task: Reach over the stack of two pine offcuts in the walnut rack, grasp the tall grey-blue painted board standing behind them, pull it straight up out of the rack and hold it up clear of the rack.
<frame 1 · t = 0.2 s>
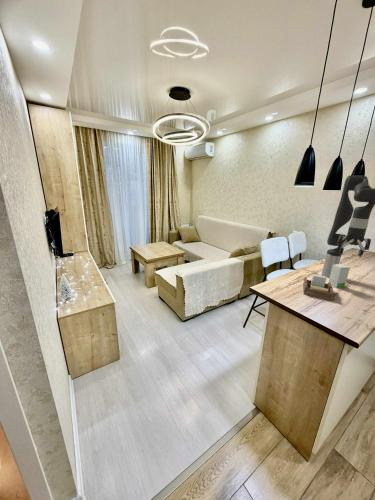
hand: (350, 255, 117), 29 cm above the table, fingers open, 8 cm apart
offcut upper: (318, 291, 129), point 3 cm above the table, touching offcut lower
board: (316, 290, 135), point 1 cm above the table, touching rack
skincare box: (335, 286, 144), on the table
rack: (316, 293, 133), on the table
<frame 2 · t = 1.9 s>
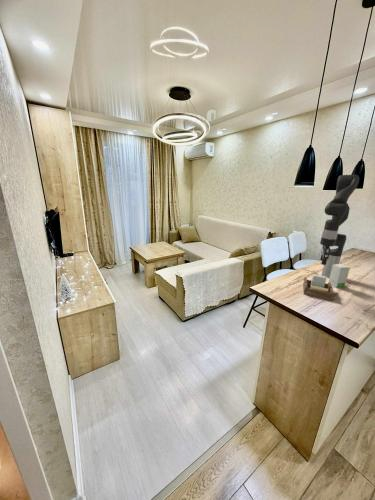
hand: (322, 262, 130), 20 cm above the table, fingers open, 8 cm apart
nothing on the table moved.
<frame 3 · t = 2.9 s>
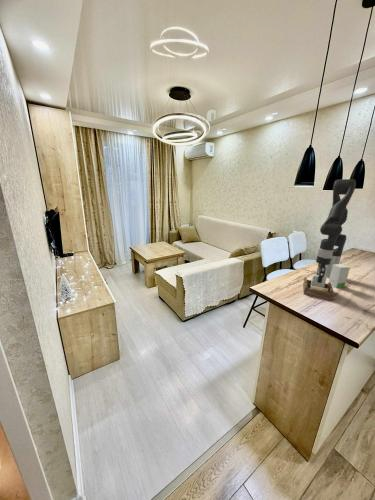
hand: (318, 280, 133), 8 cm above the table, fingers open, 8 cm apart
nothing on the table moved.
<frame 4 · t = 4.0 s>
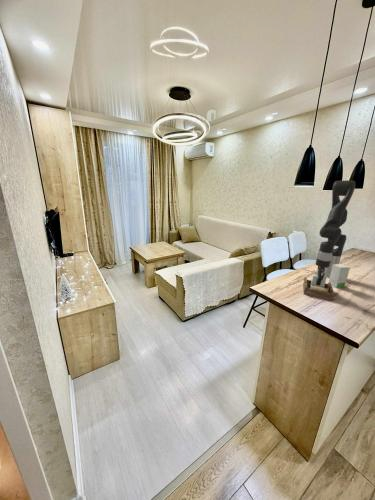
hand: (317, 283, 134), 6 cm above the table, fingers closed on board, 3 cm apart
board: (316, 290, 135), point 1 cm above the table, touching gripper, rack
everything else where it was.
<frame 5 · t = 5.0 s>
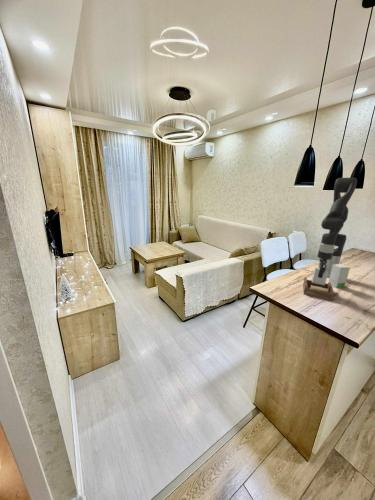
hand: (319, 276, 132), 11 cm above the table, fingers closed on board, 3 cm apart
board: (318, 283, 134), point 6 cm above the table, touching gripper
everything else where it was.
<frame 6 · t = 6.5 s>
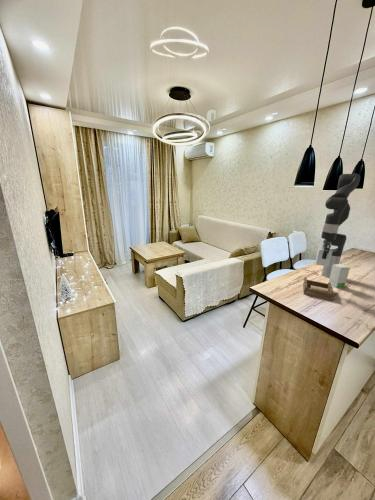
hand: (323, 257, 132), 23 cm above the table, fingers closed on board, 3 cm apart
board: (321, 264, 133), point 18 cm above the table, touching gripper
everything else where it was.
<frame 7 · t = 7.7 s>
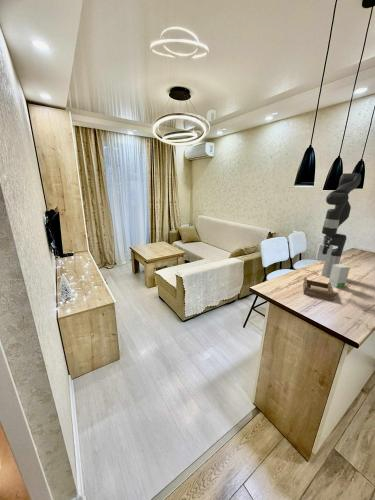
hand: (324, 253, 132), 25 cm above the table, fingers closed on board, 3 cm apart
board: (322, 260, 134), point 20 cm above the table, touching gripper
everything else where it was.
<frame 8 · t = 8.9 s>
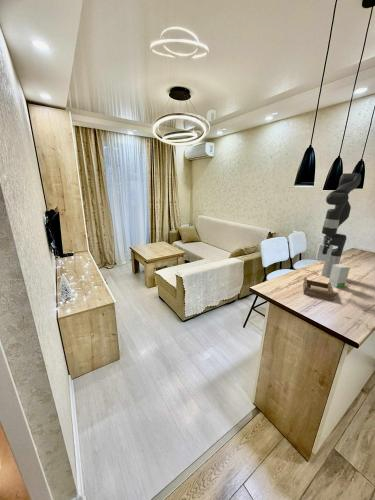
hand: (324, 253, 132), 25 cm above the table, fingers closed on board, 3 cm apart
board: (322, 260, 134), point 20 cm above the table, touching gripper
everything else where it was.
at the end: the gripper is holding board; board point 20.4 cm above the table; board inside the target area (2.1 cm from its centre), point 20.4 cm above the table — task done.
